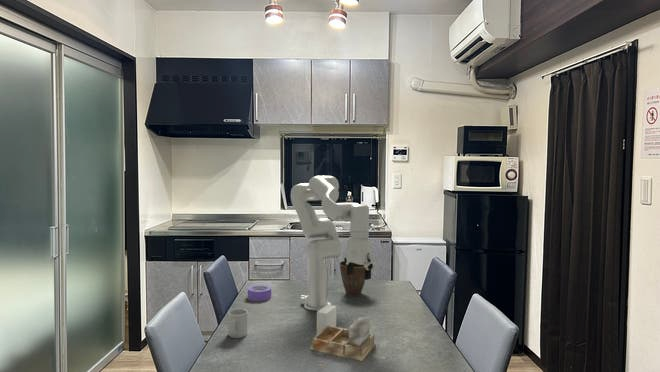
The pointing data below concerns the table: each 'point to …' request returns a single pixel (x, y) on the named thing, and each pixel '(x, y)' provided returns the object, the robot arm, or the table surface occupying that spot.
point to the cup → (238, 323)
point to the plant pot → (353, 278)
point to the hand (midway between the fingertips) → (358, 276)
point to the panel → (326, 317)
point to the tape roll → (259, 292)
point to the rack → (345, 340)
